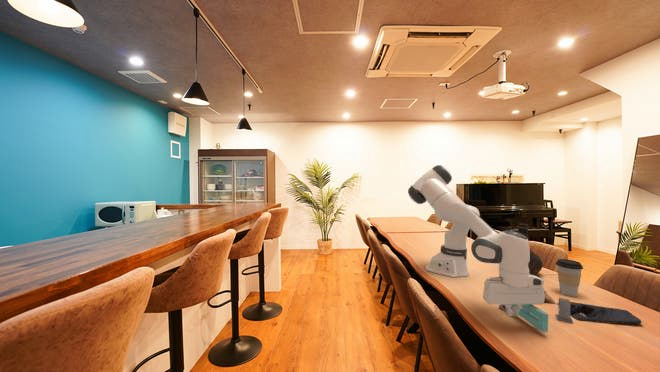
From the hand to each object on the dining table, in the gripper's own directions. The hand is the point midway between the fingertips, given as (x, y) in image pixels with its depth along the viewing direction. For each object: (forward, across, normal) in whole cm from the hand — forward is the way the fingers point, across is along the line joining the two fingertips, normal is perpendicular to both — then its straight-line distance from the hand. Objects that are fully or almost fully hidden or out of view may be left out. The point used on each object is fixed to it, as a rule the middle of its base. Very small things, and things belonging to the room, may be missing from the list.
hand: (512, 315), depth 93 cm
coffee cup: (+4, +46, +26) cm, 53 cm away
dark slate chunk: (+4, +39, +8) cm, 40 cm away
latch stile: (+4, +23, +4) cm, 23 cm away
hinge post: (+4, +6, +12) cm, 14 cm away
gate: (+2, +6, +1) cm, 7 cm away
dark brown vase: (+4, +45, +53) cm, 70 cm away
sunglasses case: (+4, +30, +25) cm, 39 cm away
